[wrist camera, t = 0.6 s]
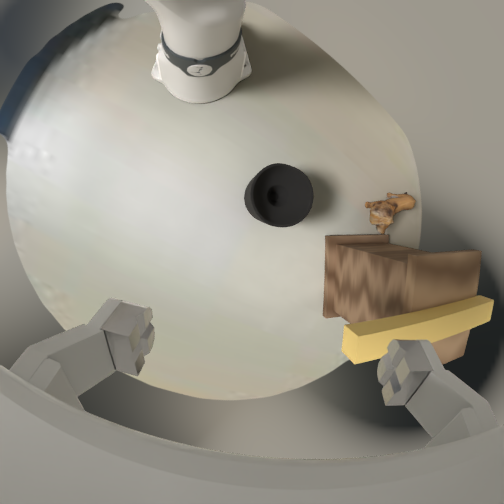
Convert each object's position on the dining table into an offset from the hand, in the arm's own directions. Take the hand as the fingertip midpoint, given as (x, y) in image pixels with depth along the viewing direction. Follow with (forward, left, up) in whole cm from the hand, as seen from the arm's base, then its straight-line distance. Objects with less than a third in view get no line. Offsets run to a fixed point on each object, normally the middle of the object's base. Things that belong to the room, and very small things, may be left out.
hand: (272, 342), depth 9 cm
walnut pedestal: (+9, +27, -42) cm, 50 cm away
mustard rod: (+9, +23, -16) cm, 29 cm away
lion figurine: (-5, +33, -42) cm, 54 cm away
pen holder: (-6, +9, -42) cm, 43 cm away
